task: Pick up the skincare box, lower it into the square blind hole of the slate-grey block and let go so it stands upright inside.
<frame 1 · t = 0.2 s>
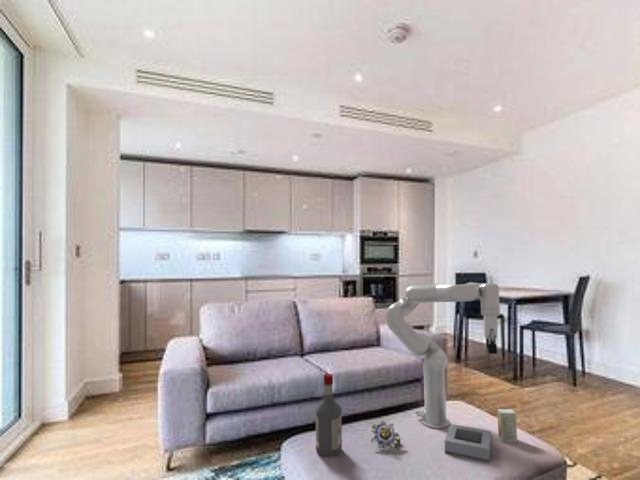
hand: (491, 350, 168), 36 cm above the table, tool pointing down, fingers open, 9 cm apart
skincare box: (507, 440, 161), on the table
liquor: (329, 451, 153), on the table
passion flower: (385, 445, 158), on the table
socket block: (468, 448, 155), on the table
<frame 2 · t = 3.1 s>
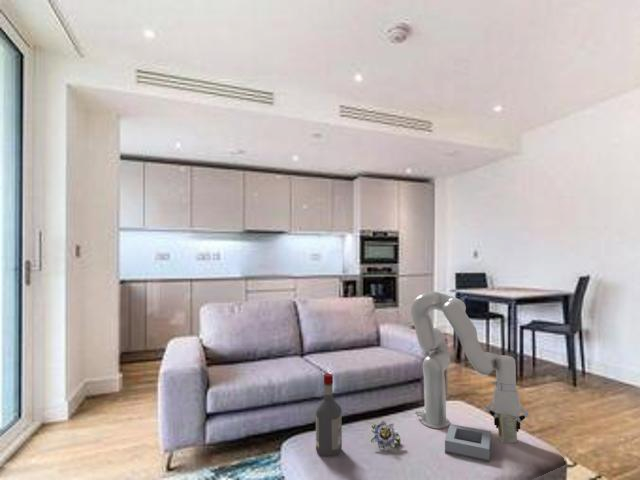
hand: (507, 428, 161), 5 cm above the table, tool pointing down, fingers closed on skincare box, 7 cm apart
skincare box: (507, 440, 161), on the table, touching gripper
everything else where it was.
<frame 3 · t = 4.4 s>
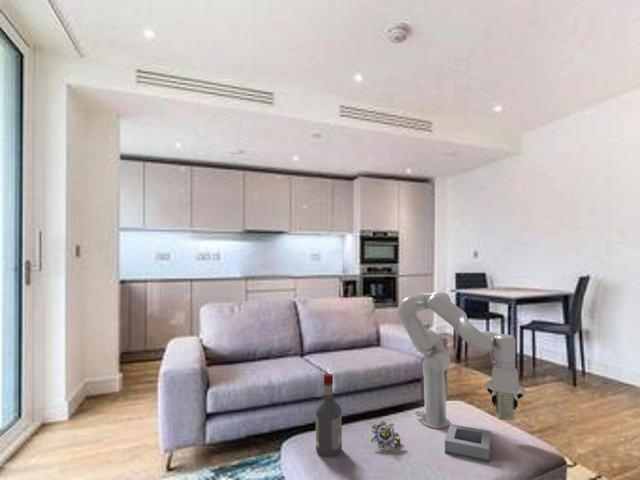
hand: (504, 406, 162), 14 cm above the table, tool pointing down, fingers closed on skincare box, 7 cm apart
skincare box: (504, 418, 162), point 9 cm above the table, touching gripper
everything else where it was.
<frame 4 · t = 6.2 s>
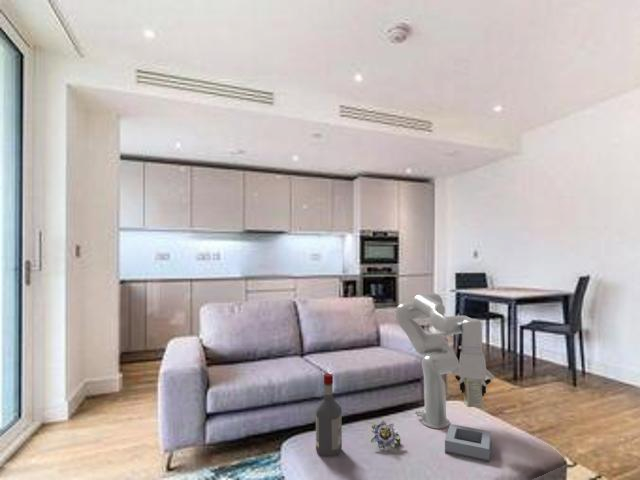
hand: (472, 393, 156), 22 cm above the table, tool pointing down, fingers closed on skincare box, 7 cm apart
skincare box: (473, 405, 156), point 16 cm above the table, touching gripper
everything else where it was.
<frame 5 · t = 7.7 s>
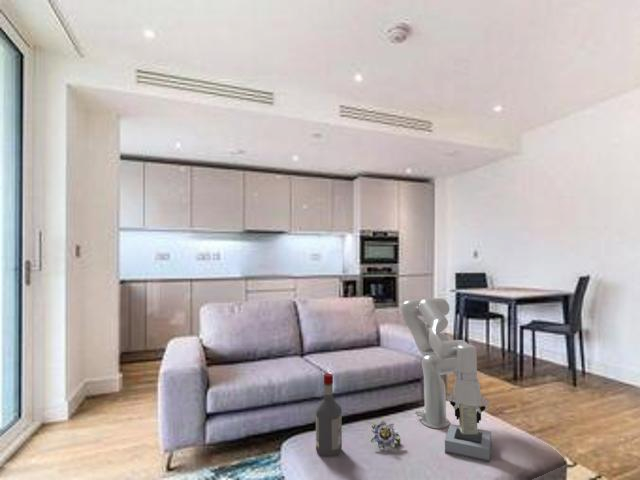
hand: (467, 419, 155), 11 cm above the table, tool pointing down, fingers closed on skincare box, 7 cm apart
skincare box: (468, 432, 155), point 6 cm above the table, touching gripper
everything else where it was.
when the fingers open (6 cm above the table, at t = 9.3 s): skincare box stays where it is, resting on socket block.
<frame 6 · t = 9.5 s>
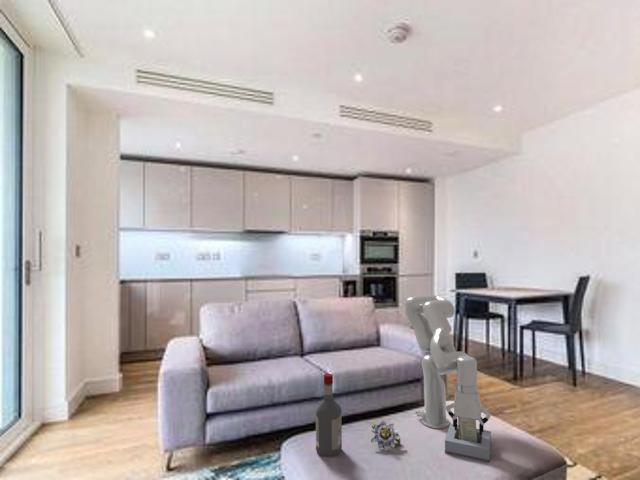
hand: (468, 431, 155), 7 cm above the table, tool pointing down, fingers open, 9 cm apart
skincare box: (467, 446, 155), point 1 cm above the table, touching socket block
everything else where it was.
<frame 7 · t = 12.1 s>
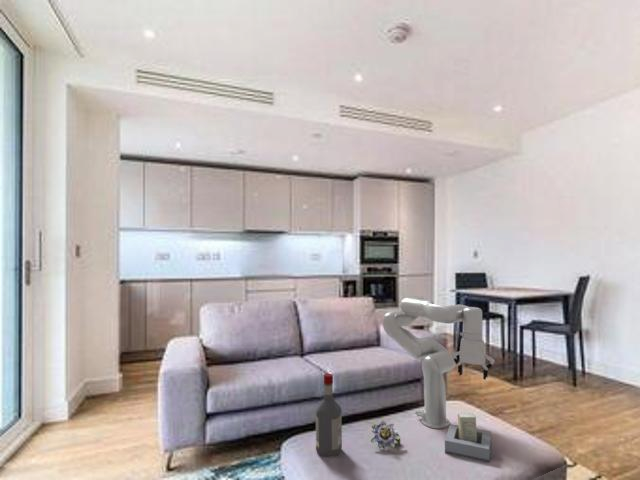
hand: (472, 376, 164), 26 cm above the table, tool pointing down, fingers open, 9 cm apart
nothing on the table moved.
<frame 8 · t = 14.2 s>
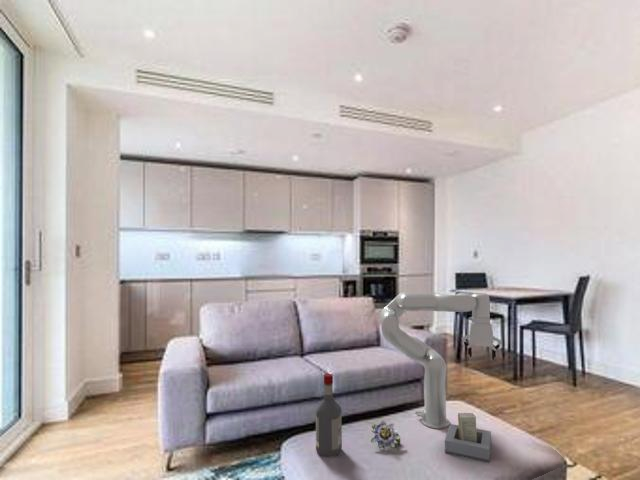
hand: (481, 357, 177), 30 cm above the table, tool pointing down, fingers open, 9 cm apart
nothing on the table moved.
at the end: skincare box 0.3 cm off-centre on the socket block, point 0.8 cm above the socket block's base; skincare box tilted 0°; the gripper is holding nothing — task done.
